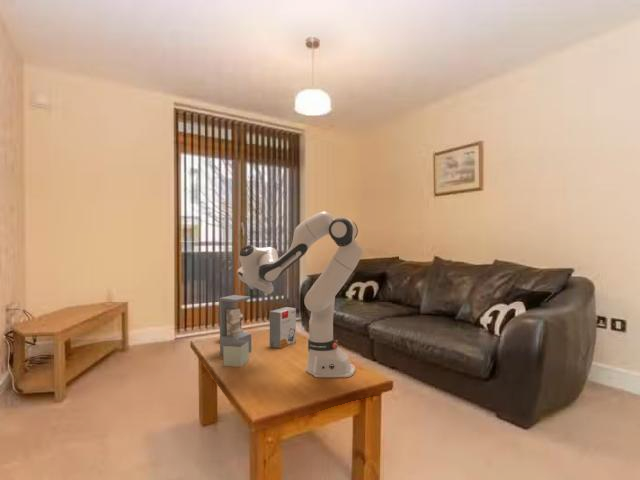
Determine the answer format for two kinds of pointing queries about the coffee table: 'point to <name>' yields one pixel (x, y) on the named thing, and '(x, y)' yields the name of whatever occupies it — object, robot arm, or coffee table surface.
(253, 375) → the coffee table surface
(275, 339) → the hard drive box
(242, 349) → the stand
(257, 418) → the coffee table surface
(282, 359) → the coffee table surface
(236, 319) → the block
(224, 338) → the grey podium
